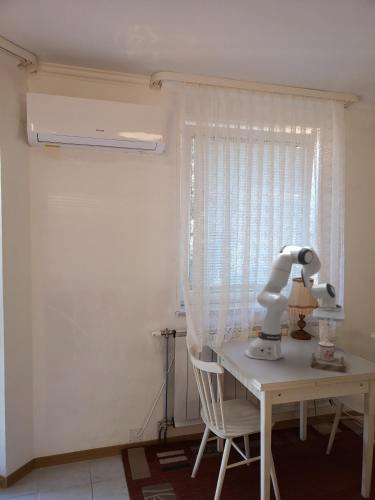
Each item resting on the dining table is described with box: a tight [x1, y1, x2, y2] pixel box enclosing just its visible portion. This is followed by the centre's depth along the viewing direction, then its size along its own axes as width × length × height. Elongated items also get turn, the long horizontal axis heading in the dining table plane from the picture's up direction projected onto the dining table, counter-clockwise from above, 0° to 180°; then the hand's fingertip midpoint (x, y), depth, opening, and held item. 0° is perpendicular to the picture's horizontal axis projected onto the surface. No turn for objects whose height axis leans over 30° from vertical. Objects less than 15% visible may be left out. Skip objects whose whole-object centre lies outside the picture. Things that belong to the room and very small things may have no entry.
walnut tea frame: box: [310, 352, 346, 373], centre depth 207 cm, size 17×18×3 cm
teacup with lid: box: [317, 338, 337, 362], centre depth 217 cm, size 12×9×12 cm
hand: (328, 325), depth 234 cm, fingers closed
